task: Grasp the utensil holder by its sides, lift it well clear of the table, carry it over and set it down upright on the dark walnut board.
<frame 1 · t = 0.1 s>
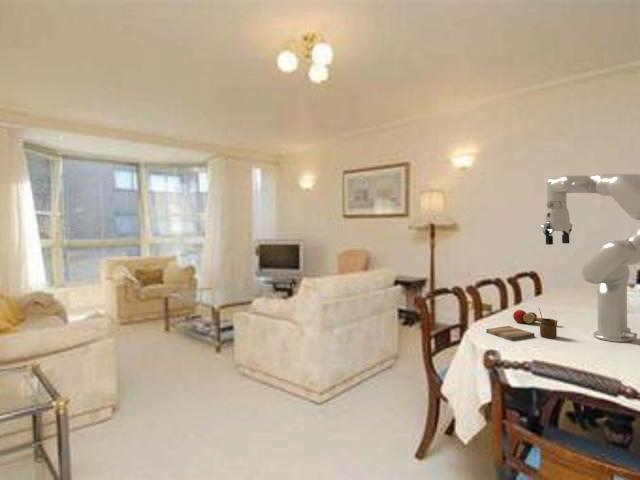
hand: (557, 243, 181), 37 cm above the table, tool pointing down, fingers open, 9 cm apart
board: (509, 334, 170), on the table
utensil holder: (548, 337, 165), on the table
kendama: (534, 324, 186), on the table
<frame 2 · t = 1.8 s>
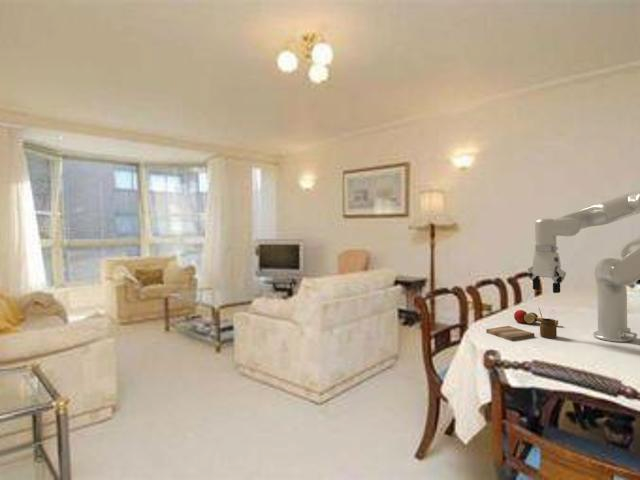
hand: (546, 290, 164), 19 cm above the table, tool pointing down, fingers open, 9 cm apart
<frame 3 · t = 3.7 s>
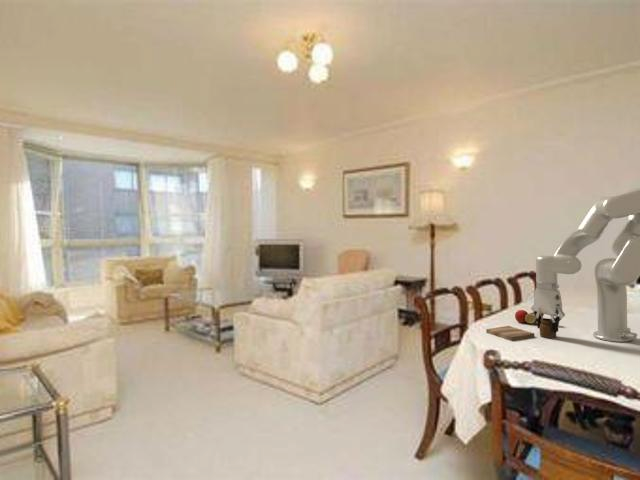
hand: (547, 329, 165), 3 cm above the table, tool pointing down, fingers closed on utensil holder, 5 cm apart
utensil holder: (547, 337, 165), on the table, touching gripper
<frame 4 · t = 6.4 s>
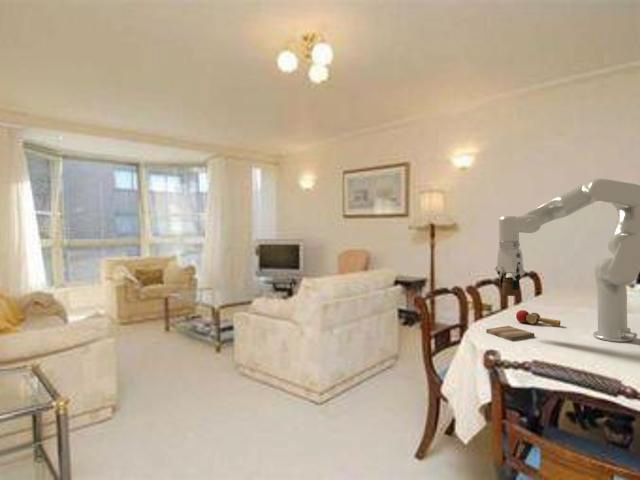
hand: (509, 288, 169), 20 cm above the table, tool pointing down, fingers closed on utensil holder, 5 cm apart
utensil holder: (509, 295, 169), point 17 cm above the table, touching gripper
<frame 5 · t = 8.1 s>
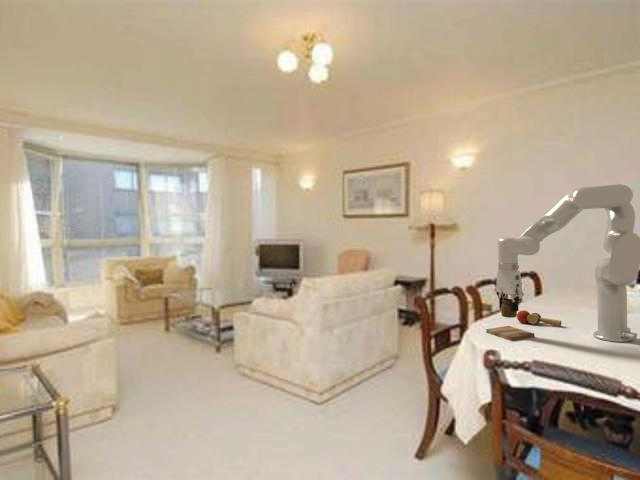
hand: (508, 309, 170), 11 cm above the table, tool pointing down, fingers closed on utensil holder, 5 cm apart
utensil holder: (508, 316, 170), point 8 cm above the table, touching gripper
when the fingers open (6 cm above the table, at t = 9.5 s): utensil holder drops 1 cm, resting on board.
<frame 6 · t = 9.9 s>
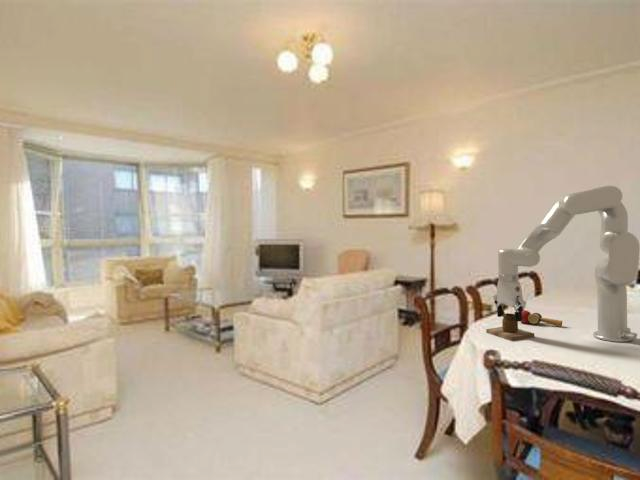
hand: (509, 318, 170), 7 cm above the table, tool pointing down, fingers open, 9 cm apart
utensil holder: (509, 331, 170), point 1 cm above the table, touching board
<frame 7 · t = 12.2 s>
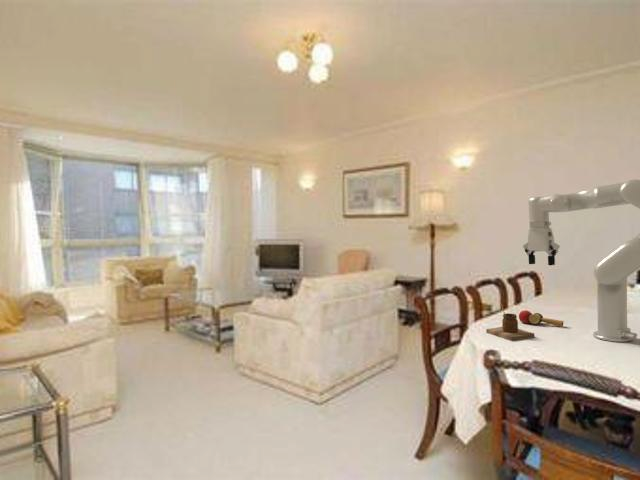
hand: (541, 264, 175), 28 cm above the table, tool pointing down, fingers open, 9 cm apart
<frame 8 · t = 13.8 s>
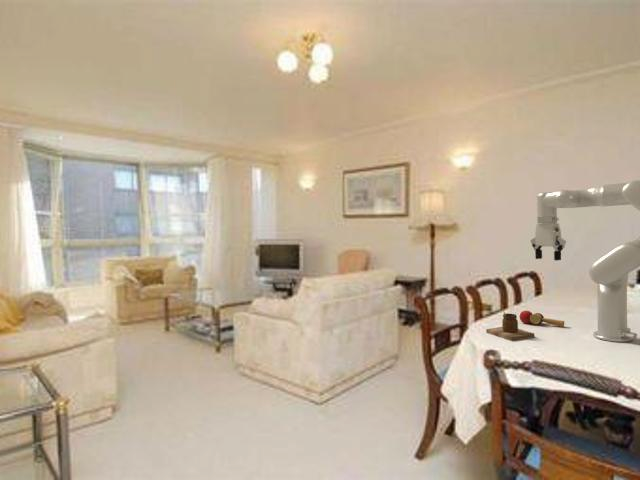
hand: (547, 259, 177), 30 cm above the table, tool pointing down, fingers open, 9 cm apart
at the end: utensil holder inside the target area on the board (0.1 cm from its centre), point 1.3 cm above the board's base; utensil holder tilted 0°; the gripper is holding nothing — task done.
